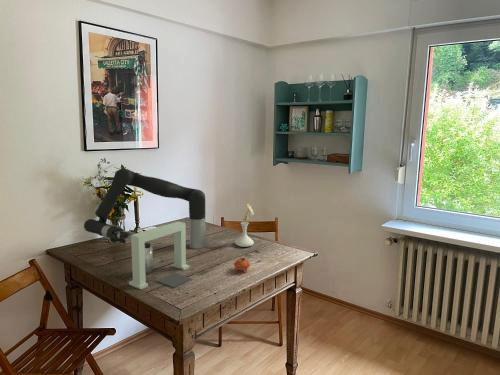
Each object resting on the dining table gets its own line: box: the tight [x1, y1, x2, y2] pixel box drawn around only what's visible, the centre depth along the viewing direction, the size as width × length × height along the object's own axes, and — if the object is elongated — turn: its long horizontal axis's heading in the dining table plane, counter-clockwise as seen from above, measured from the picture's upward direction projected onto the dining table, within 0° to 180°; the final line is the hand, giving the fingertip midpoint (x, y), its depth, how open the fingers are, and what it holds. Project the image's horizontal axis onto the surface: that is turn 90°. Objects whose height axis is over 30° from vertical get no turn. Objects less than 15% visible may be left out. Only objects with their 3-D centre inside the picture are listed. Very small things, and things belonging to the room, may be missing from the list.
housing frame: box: [128, 221, 190, 290], centre depth 168 cm, size 8×30×23 cm, turn 145°
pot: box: [233, 257, 251, 273], centre depth 178 cm, size 8×8×7 cm
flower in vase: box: [234, 203, 255, 248], centre depth 214 cm, size 13×11×25 cm
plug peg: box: [144, 242, 154, 274], centre depth 174 cm, size 4×4×14 cm
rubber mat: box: [156, 272, 192, 289], centre depth 165 cm, size 11×11×1 cm
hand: (132, 239), depth 179 cm, fingers open, 8 cm apart
